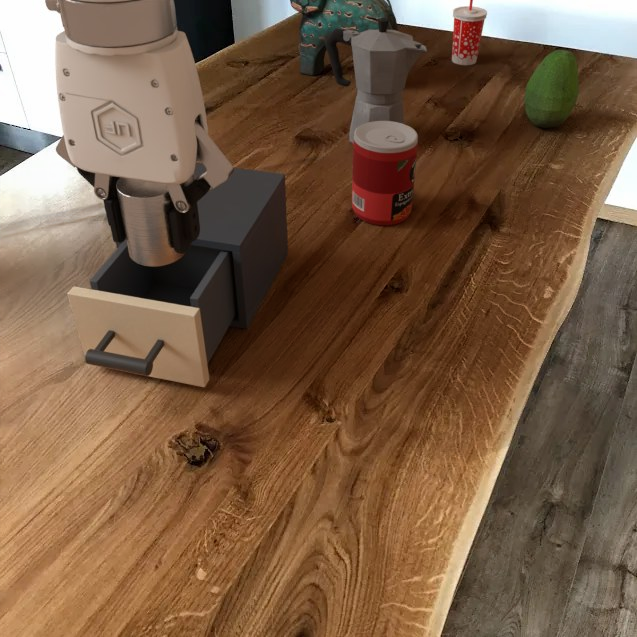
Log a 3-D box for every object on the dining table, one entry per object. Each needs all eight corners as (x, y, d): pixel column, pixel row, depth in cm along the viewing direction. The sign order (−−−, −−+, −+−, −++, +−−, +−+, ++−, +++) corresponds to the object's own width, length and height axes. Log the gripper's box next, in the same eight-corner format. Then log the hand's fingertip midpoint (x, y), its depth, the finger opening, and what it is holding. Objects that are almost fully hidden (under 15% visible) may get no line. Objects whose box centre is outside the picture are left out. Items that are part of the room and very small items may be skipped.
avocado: (580, 130, 115) (599, 53, 107) (541, 140, 112) (557, 62, 105) (547, 111, 120) (562, 37, 113) (508, 120, 118) (521, 45, 110)
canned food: (403, 231, 93) (409, 152, 86) (343, 220, 95) (345, 141, 88) (418, 202, 98) (425, 125, 91) (361, 192, 100) (364, 116, 93)
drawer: (187, 419, 67) (175, 347, 61) (64, 393, 69) (41, 321, 64) (252, 302, 80) (246, 234, 74) (146, 284, 83) (133, 217, 77)
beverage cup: (486, 60, 138) (498, -19, 129) (469, 69, 135) (479, -11, 126) (459, 52, 141) (468, -25, 132) (441, 61, 138) (449, -18, 129)
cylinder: (136, 272, 60) (123, 203, 55) (123, 241, 63) (110, 174, 59) (193, 258, 61) (184, 190, 57) (177, 229, 64) (168, 163, 60)
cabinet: (247, 329, 78) (240, 245, 71) (129, 308, 81) (111, 225, 74) (288, 253, 89) (285, 173, 82) (183, 237, 92) (171, 159, 85)
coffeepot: (427, 133, 114) (439, 14, 103) (407, 159, 107) (417, 35, 96) (337, 116, 119) (338, 0, 108) (312, 140, 113) (311, 19, 101)
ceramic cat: (288, 74, 133) (285, -46, 120) (306, 62, 138) (304, -54, 125) (388, 94, 126) (395, -30, 113) (403, 81, 130) (411, -40, 117)
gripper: (-23, 20, 49) (42, 247, 60) (215, 47, 45) (234, 282, 57) (40, -12, 54) (88, 202, 66) (256, 10, 51) (266, 231, 62)
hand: (155, 237), depth 61 cm, fingers closed on cylinder, 4 cm apart
